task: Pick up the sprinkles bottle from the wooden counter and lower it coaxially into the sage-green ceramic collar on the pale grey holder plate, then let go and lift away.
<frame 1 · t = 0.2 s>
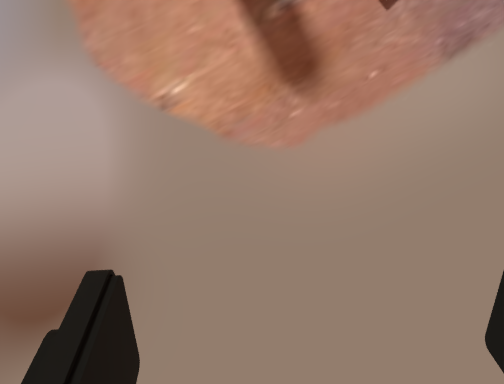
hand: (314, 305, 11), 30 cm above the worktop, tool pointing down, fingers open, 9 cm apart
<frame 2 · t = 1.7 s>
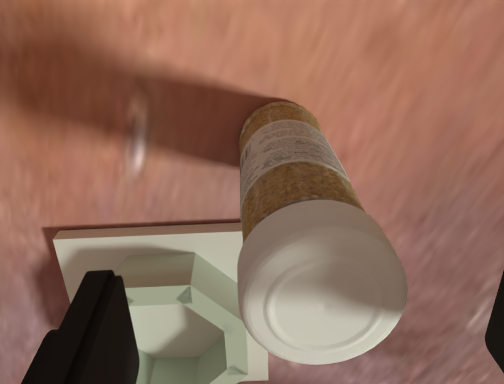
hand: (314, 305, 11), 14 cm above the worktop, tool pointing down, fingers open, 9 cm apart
sprinkles bottle: (279, 138, 24), on the worktop
bottle collar: (173, 306, 28), on the worktop
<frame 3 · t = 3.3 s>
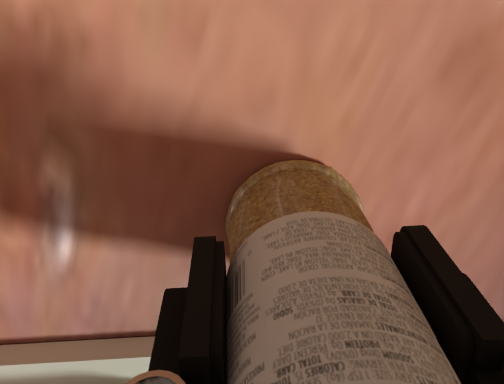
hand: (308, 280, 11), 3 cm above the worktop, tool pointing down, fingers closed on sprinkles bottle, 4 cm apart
sprinkles bottle: (291, 213, 15), on the worktop, touching gripper
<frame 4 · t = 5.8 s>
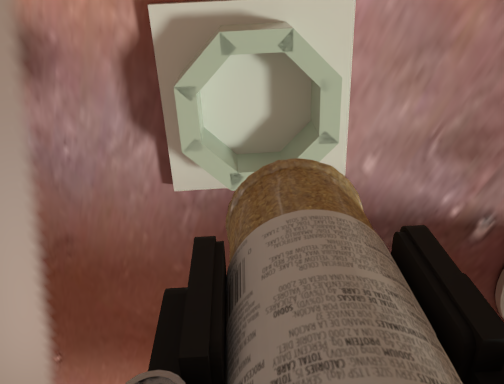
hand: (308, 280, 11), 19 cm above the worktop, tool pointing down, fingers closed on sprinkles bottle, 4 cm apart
sprinkles bottle: (291, 212, 15), point 16 cm above the worktop, touching gripper
bottle collar: (255, 97, 29), on the worktop
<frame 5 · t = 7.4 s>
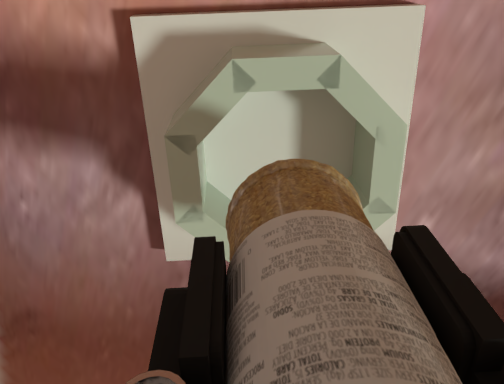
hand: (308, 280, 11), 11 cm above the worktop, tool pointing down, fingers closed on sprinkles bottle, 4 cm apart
sprinkles bottle: (291, 212, 15), point 7 cm above the worktop, touching gripper
bottle collar: (277, 142, 21), on the worktop
when the fingers open (6 cm above the worktop, at t = 8.6 s): sprinkles bottle drops 2 cm, resting on bottle collar.
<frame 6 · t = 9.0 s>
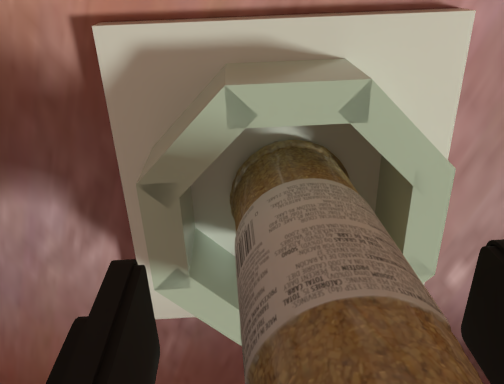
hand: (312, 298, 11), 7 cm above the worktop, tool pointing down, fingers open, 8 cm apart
sprinkles bottle: (288, 189, 16), point 1 cm above the worktop, touching bottle collar
bottle collar: (282, 178, 17), on the worktop
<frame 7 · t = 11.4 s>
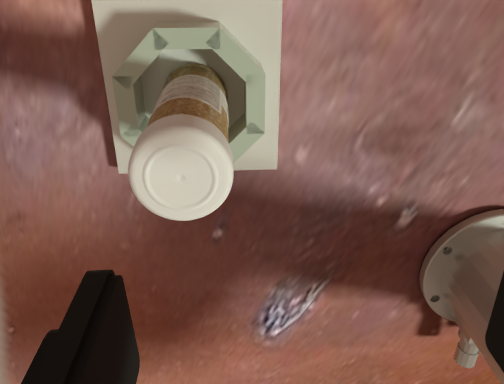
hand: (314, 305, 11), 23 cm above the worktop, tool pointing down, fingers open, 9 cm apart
sprinkles bottle: (195, 93, 30), point 1 cm above the worktop, touching bottle collar
bottle collar: (194, 89, 31), on the worktop
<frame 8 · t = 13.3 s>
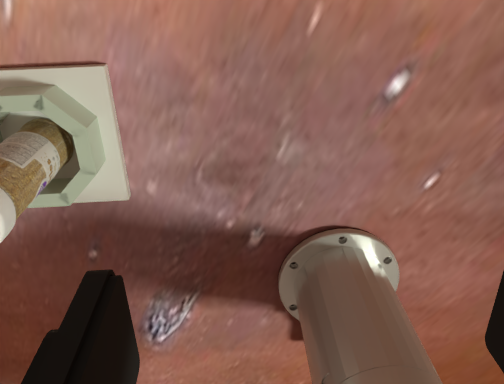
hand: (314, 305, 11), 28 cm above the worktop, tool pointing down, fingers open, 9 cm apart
sprinkles bottle: (48, 141, 37), point 1 cm above the worktop, touching bottle collar
bottle collar: (50, 137, 38), on the worktop
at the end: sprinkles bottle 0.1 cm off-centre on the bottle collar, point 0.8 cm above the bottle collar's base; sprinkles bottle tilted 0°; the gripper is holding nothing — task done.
